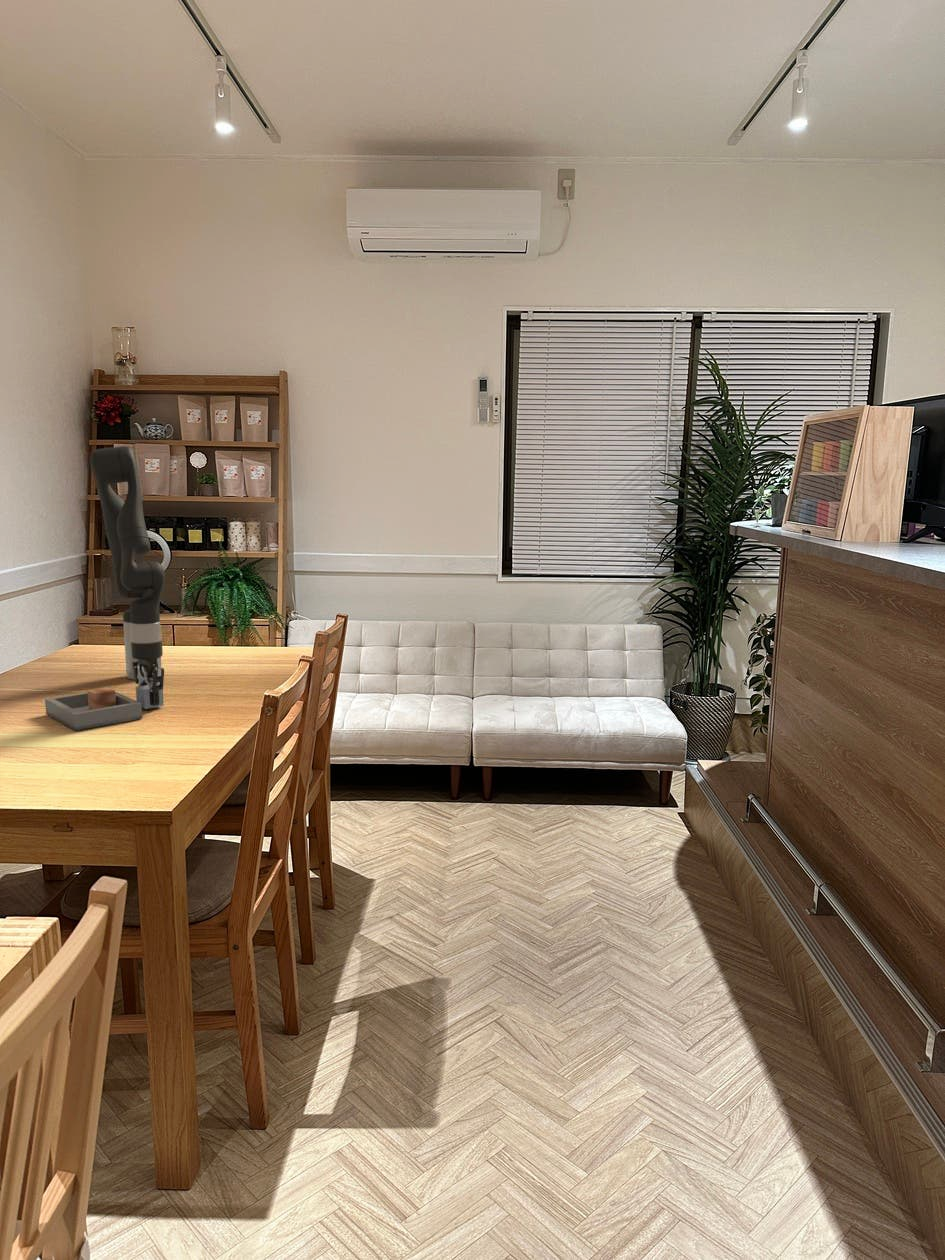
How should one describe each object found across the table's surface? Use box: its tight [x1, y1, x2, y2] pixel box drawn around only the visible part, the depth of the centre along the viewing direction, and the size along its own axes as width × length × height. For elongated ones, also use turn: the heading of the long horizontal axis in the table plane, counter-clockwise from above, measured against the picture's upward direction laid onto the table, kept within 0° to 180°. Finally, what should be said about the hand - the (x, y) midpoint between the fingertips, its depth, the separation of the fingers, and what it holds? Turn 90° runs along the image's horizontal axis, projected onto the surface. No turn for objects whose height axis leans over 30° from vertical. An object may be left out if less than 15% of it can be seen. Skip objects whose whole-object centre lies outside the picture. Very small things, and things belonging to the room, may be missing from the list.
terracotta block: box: [86, 686, 116, 710], centre depth 218 cm, size 5×5×5 cm
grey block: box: [135, 685, 165, 710], centre depth 223 cm, size 5×5×5 cm
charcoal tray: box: [44, 691, 143, 732], centre depth 214 cm, size 16×20×4 cm
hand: (150, 702), depth 224 cm, fingers closed on grey block, 5 cm apart
